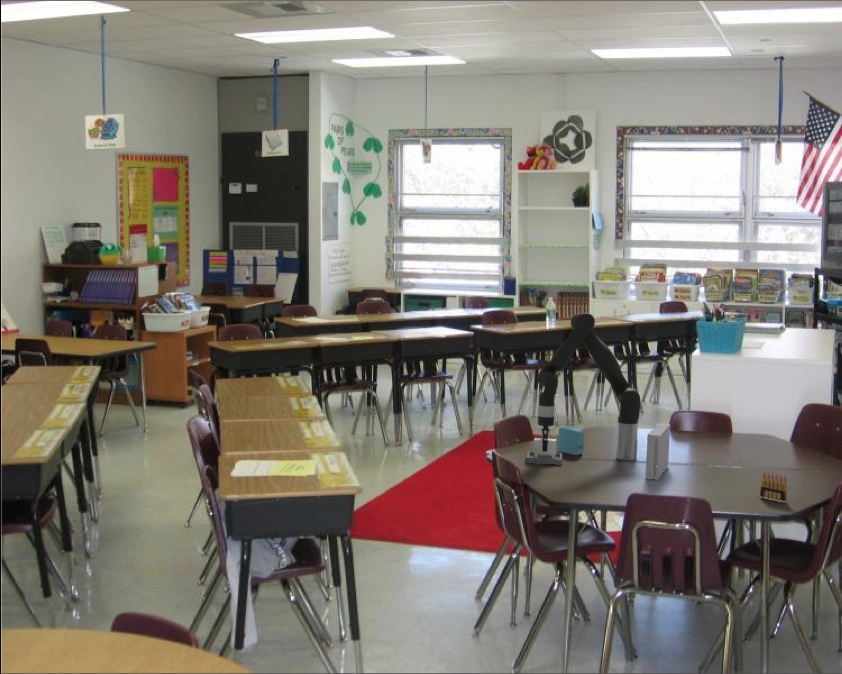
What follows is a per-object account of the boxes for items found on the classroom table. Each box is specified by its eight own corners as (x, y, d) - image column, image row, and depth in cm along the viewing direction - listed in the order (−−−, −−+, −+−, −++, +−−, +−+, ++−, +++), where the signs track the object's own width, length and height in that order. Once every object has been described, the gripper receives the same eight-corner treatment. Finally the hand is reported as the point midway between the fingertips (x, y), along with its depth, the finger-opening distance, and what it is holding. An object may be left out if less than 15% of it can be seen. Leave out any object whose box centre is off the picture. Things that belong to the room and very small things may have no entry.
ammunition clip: (759, 498, 462) (761, 470, 461) (761, 497, 464) (763, 469, 462) (784, 503, 455) (786, 474, 454) (786, 502, 457) (788, 474, 455)
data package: (583, 454, 533) (584, 430, 531) (577, 456, 529) (578, 431, 528) (563, 450, 541) (564, 425, 540) (557, 451, 538) (558, 427, 537)
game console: (644, 479, 490) (646, 434, 487) (655, 465, 515) (657, 423, 512) (657, 480, 488) (659, 435, 485) (668, 466, 513) (670, 424, 510)
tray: (561, 458, 524) (562, 450, 523) (561, 465, 511) (562, 456, 510) (527, 457, 525) (527, 448, 525) (526, 463, 513) (526, 454, 512)
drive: (555, 458, 519) (556, 439, 518) (555, 460, 515) (556, 441, 514) (533, 457, 521) (534, 438, 520) (533, 459, 516) (534, 440, 515)
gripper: (554, 418, 508) (552, 453, 510) (554, 412, 522) (553, 446, 524) (537, 417, 509) (536, 452, 511) (538, 411, 523) (537, 445, 525)
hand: (544, 449), depth 517 cm, fingers open, 8 cm apart
